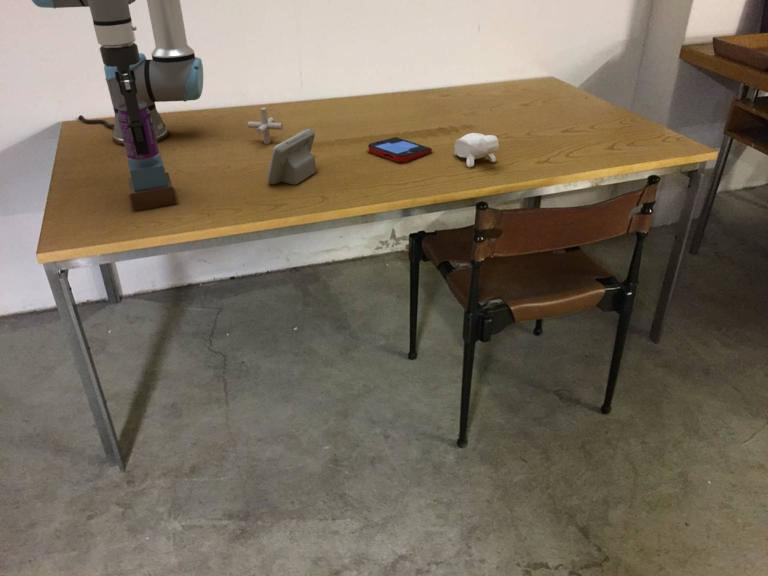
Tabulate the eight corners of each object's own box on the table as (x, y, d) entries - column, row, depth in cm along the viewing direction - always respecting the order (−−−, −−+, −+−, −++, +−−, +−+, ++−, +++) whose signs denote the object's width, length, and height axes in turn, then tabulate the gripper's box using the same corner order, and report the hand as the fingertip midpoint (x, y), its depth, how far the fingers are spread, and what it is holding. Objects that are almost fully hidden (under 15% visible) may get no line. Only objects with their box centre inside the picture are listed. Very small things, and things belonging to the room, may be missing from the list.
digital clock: (304, 162, 172) (301, 124, 166) (328, 171, 167) (326, 131, 161) (258, 181, 162) (253, 141, 156) (282, 191, 157) (278, 150, 151)
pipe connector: (277, 149, 181) (274, 114, 175) (244, 147, 182) (240, 113, 177) (289, 137, 189) (285, 104, 183) (257, 135, 190) (253, 102, 185)
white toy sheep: (452, 168, 175) (482, 166, 161) (447, 137, 173) (477, 132, 159) (478, 162, 178) (510, 160, 165) (474, 132, 176) (505, 127, 163)
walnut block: (132, 195, 156) (127, 178, 153) (171, 189, 159) (168, 172, 156) (134, 211, 148) (130, 193, 146) (176, 204, 151) (172, 186, 149)
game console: (433, 152, 177) (433, 144, 176) (401, 165, 170) (401, 157, 168) (396, 140, 186) (396, 132, 184) (364, 151, 178) (364, 144, 177)
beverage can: (166, 153, 149) (155, 102, 142) (144, 164, 144) (132, 111, 137) (143, 149, 151) (131, 99, 145) (121, 159, 146) (108, 108, 140)
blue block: (132, 179, 153) (127, 159, 150) (164, 174, 155) (160, 154, 152) (134, 191, 147) (129, 170, 144) (168, 185, 149) (163, 165, 147)
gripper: (139, 52, 127) (163, 160, 140) (133, 33, 143) (155, 132, 155) (100, 56, 125) (127, 166, 138) (97, 36, 140) (122, 137, 153)
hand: (142, 148), depth 146 cm, fingers closed on beverage can, 7 cm apart
